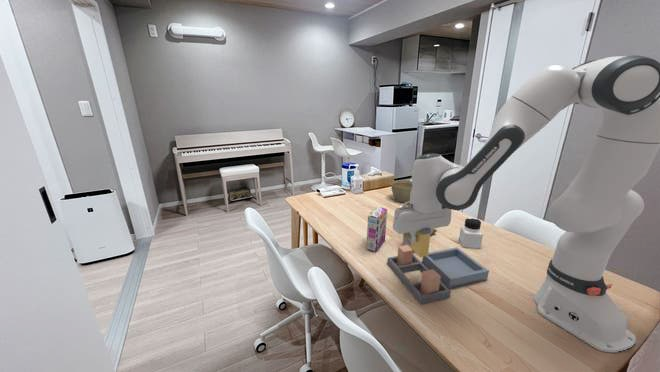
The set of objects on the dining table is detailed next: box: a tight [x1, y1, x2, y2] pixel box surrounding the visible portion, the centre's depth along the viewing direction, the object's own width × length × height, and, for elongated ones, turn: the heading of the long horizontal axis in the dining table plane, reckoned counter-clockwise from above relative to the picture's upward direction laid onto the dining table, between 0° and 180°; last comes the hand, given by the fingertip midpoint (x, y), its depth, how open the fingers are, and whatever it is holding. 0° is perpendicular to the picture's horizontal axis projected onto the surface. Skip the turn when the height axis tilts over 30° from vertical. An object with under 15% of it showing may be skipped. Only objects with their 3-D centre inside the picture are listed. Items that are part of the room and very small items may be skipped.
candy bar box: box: [366, 206, 388, 253], centre depth 116 cm, size 11×5×16 cm, turn 149°
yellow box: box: [411, 228, 431, 258], centre depth 91 cm, size 6×3×10 cm, turn 15°
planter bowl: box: [390, 179, 412, 204], centre depth 166 cm, size 16×16×11 cm
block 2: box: [419, 269, 441, 295], centre depth 88 cm, size 4×4×8 cm
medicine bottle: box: [458, 217, 484, 250], centre depth 116 cm, size 7×7×12 cm
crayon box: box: [402, 232, 415, 253], centre depth 114 cm, size 7×3×12 cm, turn 12°
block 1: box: [396, 245, 414, 266], centre depth 102 cm, size 4×4×8 cm
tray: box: [421, 247, 490, 290], centre depth 100 cm, size 16×16×4 cm
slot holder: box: [386, 254, 452, 305], centre depth 96 cm, size 23×11×2 cm, turn 15°
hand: (420, 240), depth 91 cm, fingers closed on yellow box, 3 cm apart
